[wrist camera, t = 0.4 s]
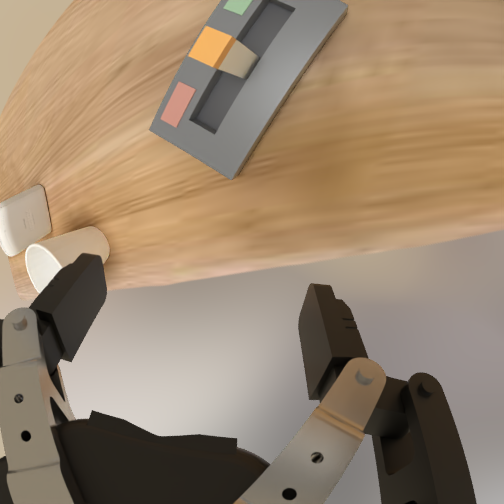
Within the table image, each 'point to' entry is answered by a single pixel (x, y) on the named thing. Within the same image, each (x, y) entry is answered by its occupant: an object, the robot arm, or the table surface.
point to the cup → (62, 253)
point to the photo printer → (23, 220)
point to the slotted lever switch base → (241, 90)
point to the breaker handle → (224, 53)
